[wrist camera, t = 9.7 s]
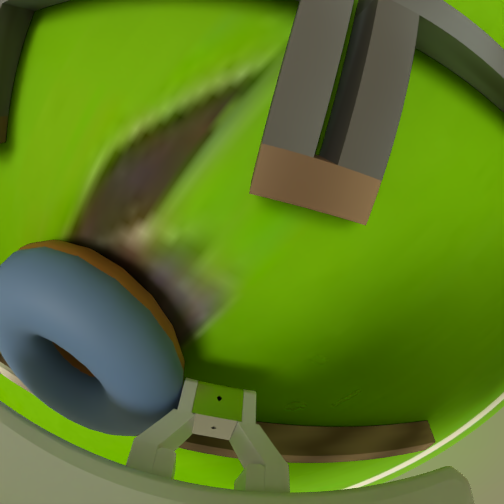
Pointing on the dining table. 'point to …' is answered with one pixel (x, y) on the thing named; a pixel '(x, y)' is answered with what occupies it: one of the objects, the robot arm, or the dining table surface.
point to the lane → (328, 147)
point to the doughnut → (88, 338)
